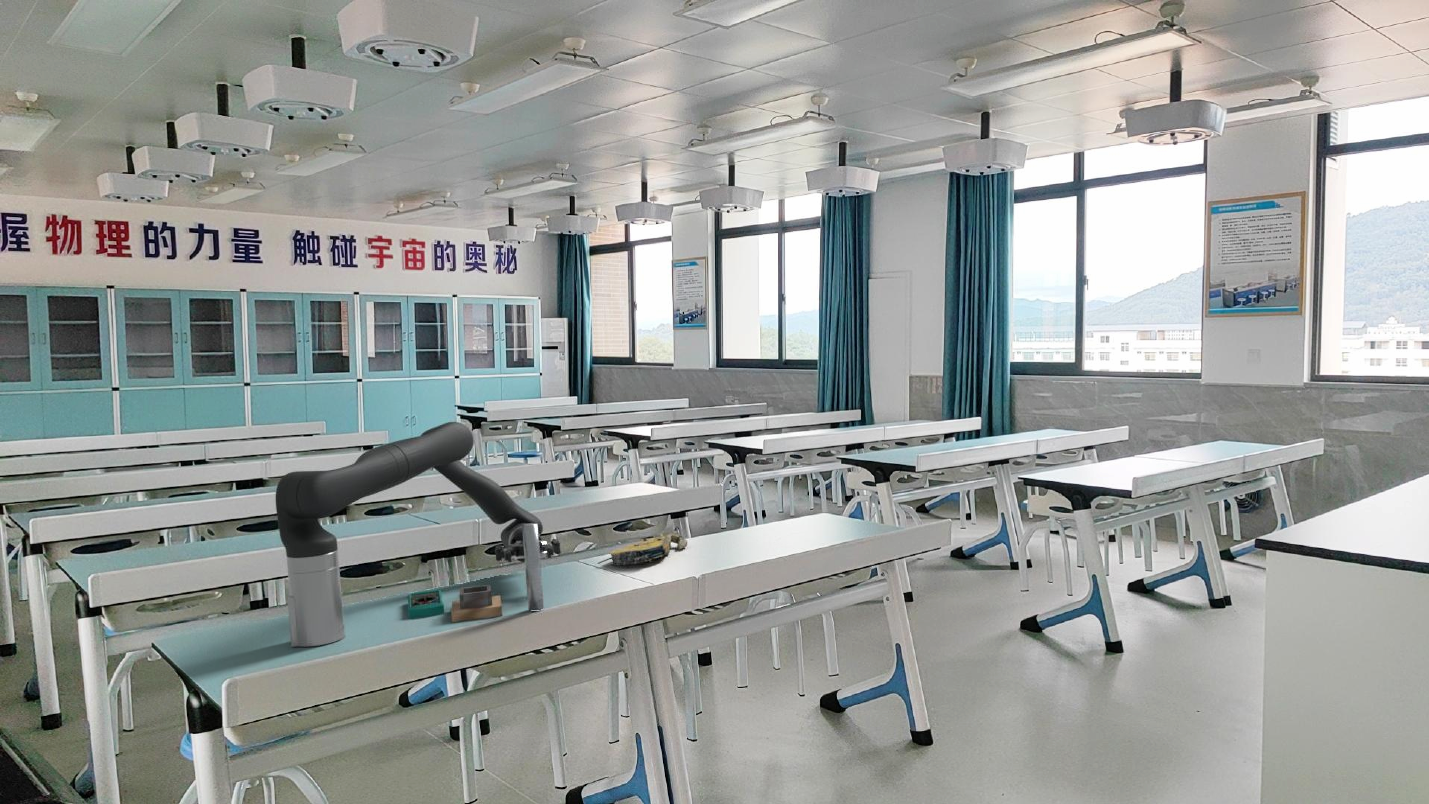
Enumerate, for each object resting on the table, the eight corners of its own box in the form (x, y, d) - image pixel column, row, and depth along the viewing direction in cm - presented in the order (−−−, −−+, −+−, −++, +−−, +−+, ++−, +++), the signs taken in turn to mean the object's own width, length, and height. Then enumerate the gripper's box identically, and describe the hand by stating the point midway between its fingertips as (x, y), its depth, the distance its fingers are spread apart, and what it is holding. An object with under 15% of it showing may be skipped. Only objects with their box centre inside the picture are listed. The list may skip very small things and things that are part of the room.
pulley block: (702, 523, 252) (634, 546, 226) (706, 545, 252) (639, 570, 226) (660, 529, 259) (591, 552, 234) (664, 550, 259) (595, 575, 234)
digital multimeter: (408, 621, 195) (407, 607, 195) (408, 605, 210) (407, 592, 209) (445, 616, 198) (443, 602, 198) (442, 600, 212) (441, 587, 212)
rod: (528, 612, 194) (522, 526, 194) (527, 608, 197) (521, 524, 197) (544, 610, 195) (538, 524, 194) (543, 606, 198) (537, 522, 197)
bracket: (451, 622, 191) (450, 597, 190) (452, 610, 200) (451, 587, 200) (502, 615, 193) (500, 591, 193) (500, 604, 203) (499, 581, 203)
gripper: (493, 530, 218) (495, 541, 202) (554, 524, 222) (561, 534, 206) (495, 562, 218) (497, 576, 203) (557, 555, 222) (563, 568, 206)
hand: (529, 555), depth 204 cm, fingers open, 8 cm apart
